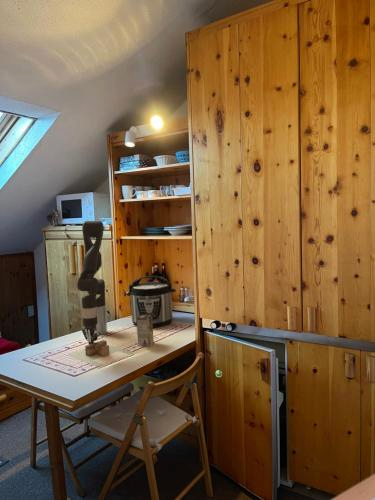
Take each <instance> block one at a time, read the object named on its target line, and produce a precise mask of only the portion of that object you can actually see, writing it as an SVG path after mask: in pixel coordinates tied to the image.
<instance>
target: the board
mask: <svg viewBox="0 0 375 500" xmlns="http://www.w3.org/2000/svg"><path fill="white" fill-rule="evenodd" d="M109 354H110V355H109V356H106V357H101V356H99V355H96V354H95V355H92V356H90V357H89V356H86V351H85V348H83V349H80V350H78V351H75V352H71V353H67V354H66V356H68V357H70V358H73V359H76V360H79V361H81V362H84V363H87V364H91V365H93V366H96V367H98V369H102V368H104V367H107V366H109V365H112V364H115V363H117V362H119V361H122V360H125V359H127V358H130V357H132V356H134V352H133V351H130V350H129V351H128V350H125V349H121V348H118V347H116V346H111V345H109ZM111 362H112V363H111Z"/></svg>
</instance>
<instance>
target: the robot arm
mask: <svg viewBox="0 0 375 500" xmlns="http://www.w3.org/2000/svg"><path fill="white" fill-rule="evenodd" d="M81 226H82V227H81V229H82V230H81V231H82V238H83V244H84V246H83V247H84V258H83V262H82V263H83V264H82V270H81V272H80V276H79V278H78V280H77V283H76V287H77V290H78V291H79V292H87V295H83V296H82V298H81V307H82V309H81V317H82V319H81V320H82V326H83V327H84V328H83V329H81V333H82V334H83V337H84V339H85V340H87V342H88V345H89V344H92V343H95V342H97V340H98V339H99V336H102V335H105V334H107V333H108V328H107V327H108V326H107V325H108V324H107V308H106V307H107V305H106V282H105V279H103V278H102V279H101V278H98V279H97V277H95V275H96V274H97V273H98V272H99V270H100V268H101V267H102V263H103V262H102V260H103V259H102V258H103V257H102V254H101V246H102V240H103V237H104V229H105V228H104V223H103V222H102V221H97V220H85V221H83V223H82V225H81ZM92 239H95V240H94V241H95V242H94V243H93V241H92ZM97 295H99V296H98V297H97Z"/></svg>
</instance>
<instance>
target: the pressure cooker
mask: <svg viewBox="0 0 375 500" xmlns="http://www.w3.org/2000/svg"><path fill="white" fill-rule="evenodd" d="M143 279H147V281H146V282H141V281H142V280H143ZM155 279H158V280H159V281H154V280H155ZM140 282H141V283H140ZM172 293H176V288H172V282H171V281H168V279H167V278H164V277H163V276H158V275H146V276H145V275H144V276H142V277H139V278H136V279H135V280H133V281H132V283H131V284H129V285H128V291H126V292H125V295H126V296H129V297H130V307H131V308H130V311H131V321H132V323H133V325H135V327H137V318H138V317H139V316H141V315H152V319H153V328H156V327H163V326H166V325H168V324H171V323H172V320H173V316H174V315H173V301H172V300H173V299H172Z"/></svg>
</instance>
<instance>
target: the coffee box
mask: <svg viewBox="0 0 375 500" xmlns="http://www.w3.org/2000/svg"><path fill="white" fill-rule="evenodd" d="M136 331H137V333H136V334H137V346H138V347H144V348H147V349H149V348H150V347H151V346H152V345H153V344H154V343H155V341H154V327H153V319H152V315H141V316H139V317H138V318H137V326H136Z"/></svg>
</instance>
